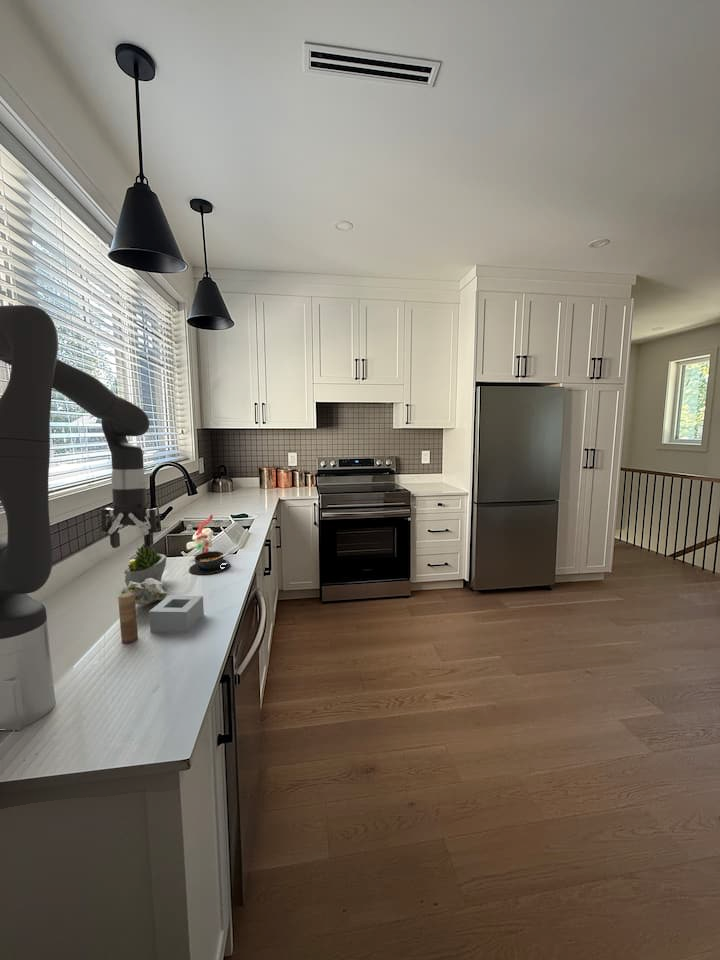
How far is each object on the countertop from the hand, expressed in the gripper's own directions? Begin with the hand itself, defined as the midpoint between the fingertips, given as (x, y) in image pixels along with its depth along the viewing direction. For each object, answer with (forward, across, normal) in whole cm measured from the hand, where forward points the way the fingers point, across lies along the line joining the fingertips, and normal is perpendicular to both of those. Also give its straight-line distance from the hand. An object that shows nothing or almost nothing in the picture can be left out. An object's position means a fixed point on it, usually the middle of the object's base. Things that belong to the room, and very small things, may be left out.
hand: (132, 547), depth 103 cm
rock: (+22, -5, +14) cm, 27 cm away
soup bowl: (+22, +1, +46) cm, 51 cm away
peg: (+23, +2, -6) cm, 23 cm away
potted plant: (+22, -14, +30) cm, 40 cm away
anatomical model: (+21, -8, +60) cm, 64 cm away
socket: (+22, +10, +3) cm, 25 cm away
